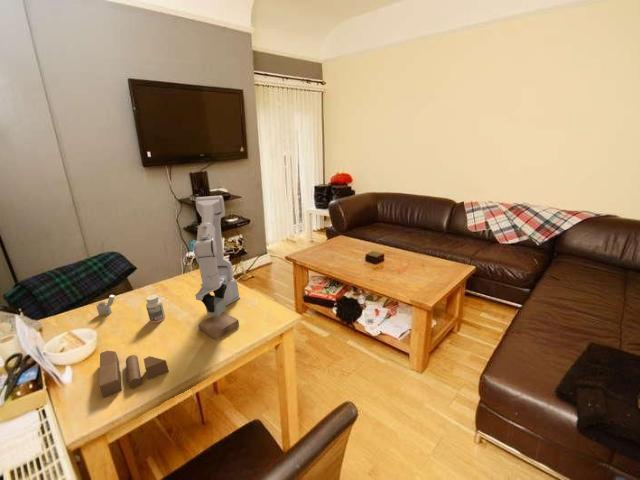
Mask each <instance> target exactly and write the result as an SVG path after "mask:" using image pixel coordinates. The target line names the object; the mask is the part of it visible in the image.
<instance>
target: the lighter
mask: <svg viewBox="0 0 640 480" xmlns="http://www.w3.org/2000/svg"><path fill="white" fill-rule="evenodd" d="M115 297H116V295H115V294H110V295H109V297H108V300H107V303H106V301H100V302H99V303H98V304H97V305H96V310H97V312H98V316H99V315H101V316H108V314H110V315H111V314H112V313H113V311H112V308H111V306H112V305H113V304H114V300H115Z"/></svg>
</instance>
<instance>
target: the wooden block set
mask: <svg viewBox="0 0 640 480" xmlns="http://www.w3.org/2000/svg"><path fill="white" fill-rule="evenodd" d="M143 363H144V369H145V372H146V376H147V379H148V380H152V379H156V378H157V377H159V376H163V375H164V374H168V373H169V372H170V371H169V368H168V365H167V364H168V363H167V361H166V360H165V359H162V358H157V357H154V356H150V355H149V356H147V357H145V358H143ZM125 366H126V376H127V383H128V387H129V388H131V389H136V388H138V387H140V385H142V375H141V369H140V362H139V356H138V355H136V354H132V355H129V356H128V357H126V359H125ZM121 374H122V373H121V370H120V360H119V357H118V354H117V352H116V351H114V350H113V351H112V350H105V351H103V352H100V354H99V367H98V389H99V392H100V395H101V397H102V399H105V398H109V397H111V396H113V395H116V394H118V393H121V392H123V389H122V388H123V387H122V375H121Z"/></svg>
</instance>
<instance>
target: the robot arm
mask: <svg viewBox="0 0 640 480" xmlns="http://www.w3.org/2000/svg"><path fill="white" fill-rule="evenodd" d="M195 208H196V211H197V213H198V214H199V216H200V217H201V224H200V225H198V226H197V234H196V235H197V236H196V241H195V242H193V255H194V257H195V260H196V264H198V267H199V272H200V278H201V282H202V283H201V284H200V286H201V288H200V289H199V290H198V292H197V293H196V294H195V295H194V296H195V299H196V300H197V301H200V302H201V303H203V305H204V307H205V308H207V310H208V312H212V313H213V312H214V298H215V297H217V298H223V299H224V303H225V307H226V306H228V305H230V304H233V302H236V301H238V300H239V299H241V296H240V292H239V285H238V281H237V279H235V278H234V271H233V270H234V269H233V265H232V262H231V261H230V260H228V259H226V258H225V255H224V247H223V237H222V228H221V222H222V221H221V219H222V218H223V217H225V215H226V209H225V201H224V197H223V196H222V194H221V195H220V194H219V195H210V196H197V197H196V198H195ZM212 292H213V295H212V294H211V293H212ZM207 310H206V311H207Z"/></svg>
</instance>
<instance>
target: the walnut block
mask: <svg viewBox="0 0 640 480" xmlns="http://www.w3.org/2000/svg"><path fill="white" fill-rule="evenodd" d="M197 325H198V330H199V331H200V332H202V333H204V334H205V335H206V336H208V337H210V338H212V339H214V340H215V341H217V340H218V339H220V338H222V337H223V336H225V335H227V334H229V333H231V331H233V330H235V329H236V328H238V327H240V323H239V319H237V318H235V317H234V316H232V315H229V314H228V313H226V312H225V311H223V312H222V313H221V314H220V315H219V316H214V315H211V317H209V318H207V319H205V320H203V321H201V322H199V323H198V324H197Z"/></svg>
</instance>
